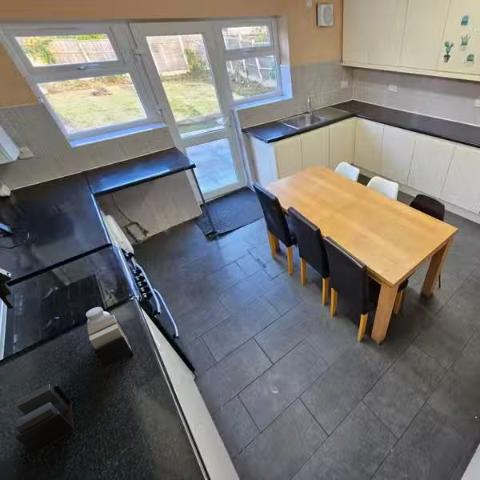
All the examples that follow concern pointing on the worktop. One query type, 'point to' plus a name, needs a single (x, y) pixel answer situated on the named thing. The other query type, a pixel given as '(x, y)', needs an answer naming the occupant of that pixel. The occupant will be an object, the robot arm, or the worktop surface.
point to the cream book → (106, 336)
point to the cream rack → (113, 348)
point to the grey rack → (44, 417)
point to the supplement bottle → (96, 315)
